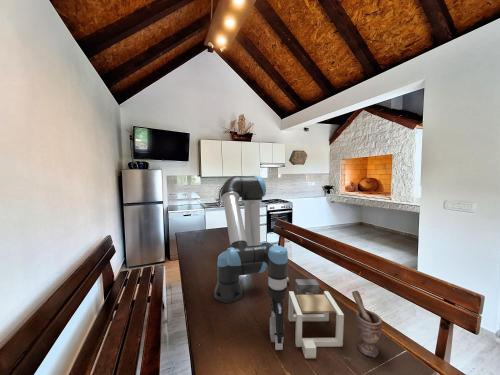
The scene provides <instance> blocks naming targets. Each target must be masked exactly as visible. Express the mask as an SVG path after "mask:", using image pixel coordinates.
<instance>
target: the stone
mask: <svg viewBox="0 0 500 375" xmlns="http://www.w3.org/2000/svg"><path fill="white" fill-rule="evenodd" d="M274 333H276V320H275V317H272V316H269V338H270V343H275V335H274ZM284 339H285V336H284V337H283V343H284Z"/></svg>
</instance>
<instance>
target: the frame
mask: <svg viewBox="0 0 500 375" xmlns="http://www.w3.org/2000/svg"><path fill="white" fill-rule="evenodd" d="M295 295H296V294H295V292H294V290H293V291H290V290H289V291H288V307H287V308H288V310H287V311H288V314H287V318H288V322H295V334H294V335H295V338H294V339H295V341H294V342H295V347H296V348H302V340H303V339H313V341H314V343H315V346H316V348H317V347H320V348H321V347H323V348H324V347H325V348H327V347H330V348H331V347H334V348H335V347H344V346H343V344H344V323H345V322H344V321H345V320H344V319H345V314H344V313H343V311H342V310H341V308H340V306H338V304H337V302H336V301H335V298H334V297H333V296H332V295H331V294H330V292H329V291H328V290H325V291H323V295H325V296H326V298H327V299H328V301H329V303H330V304H331V306H332V307H333V309H334V311H335V314H336V318H335V321H336V322H335V337H303V322H329V319H330V313H302V312H301V309H300V307H299V304H298V302H297V299H296V296H295Z"/></svg>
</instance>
